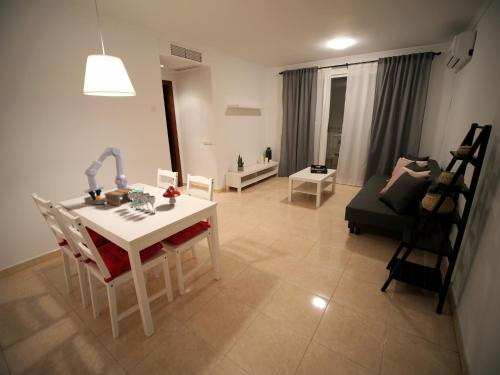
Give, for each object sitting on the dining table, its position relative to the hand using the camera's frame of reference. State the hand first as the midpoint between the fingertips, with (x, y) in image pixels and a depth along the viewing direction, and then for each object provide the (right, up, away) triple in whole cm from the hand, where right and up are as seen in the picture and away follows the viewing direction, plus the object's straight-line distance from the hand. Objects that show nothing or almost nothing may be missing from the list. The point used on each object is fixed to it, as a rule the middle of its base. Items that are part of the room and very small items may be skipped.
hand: (96, 199), depth 187 cm
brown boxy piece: (+20, -3, +2) cm, 20 cm away
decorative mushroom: (+64, -4, -3) cm, 64 cm away
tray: (-1, -3, +1) cm, 3 cm away
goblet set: (+45, -7, -14) cm, 48 cm away
